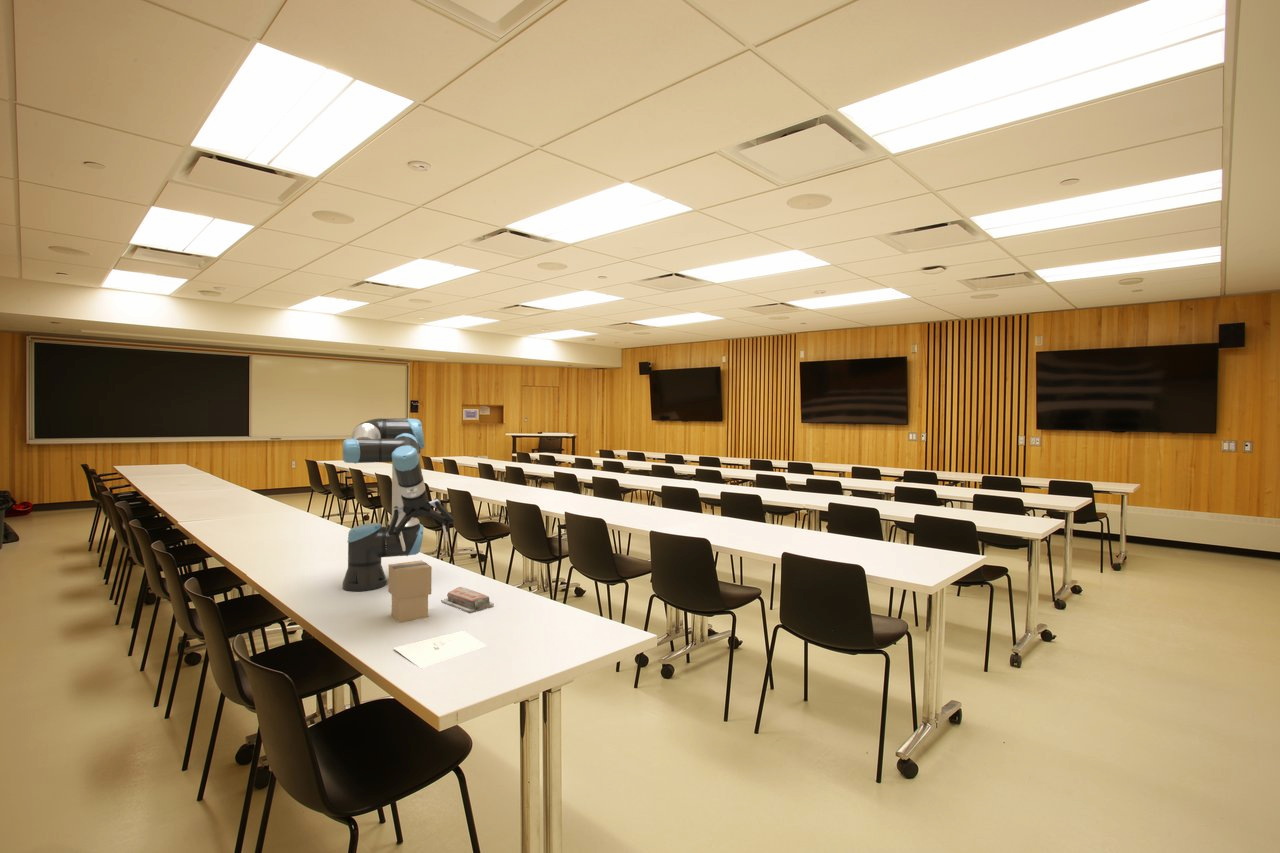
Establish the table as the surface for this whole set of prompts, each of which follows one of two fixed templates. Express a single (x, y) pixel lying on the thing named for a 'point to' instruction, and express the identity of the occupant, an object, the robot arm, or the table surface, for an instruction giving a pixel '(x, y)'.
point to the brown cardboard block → (409, 579)
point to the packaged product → (467, 600)
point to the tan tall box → (410, 608)
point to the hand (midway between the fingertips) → (425, 543)
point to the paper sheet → (439, 648)
